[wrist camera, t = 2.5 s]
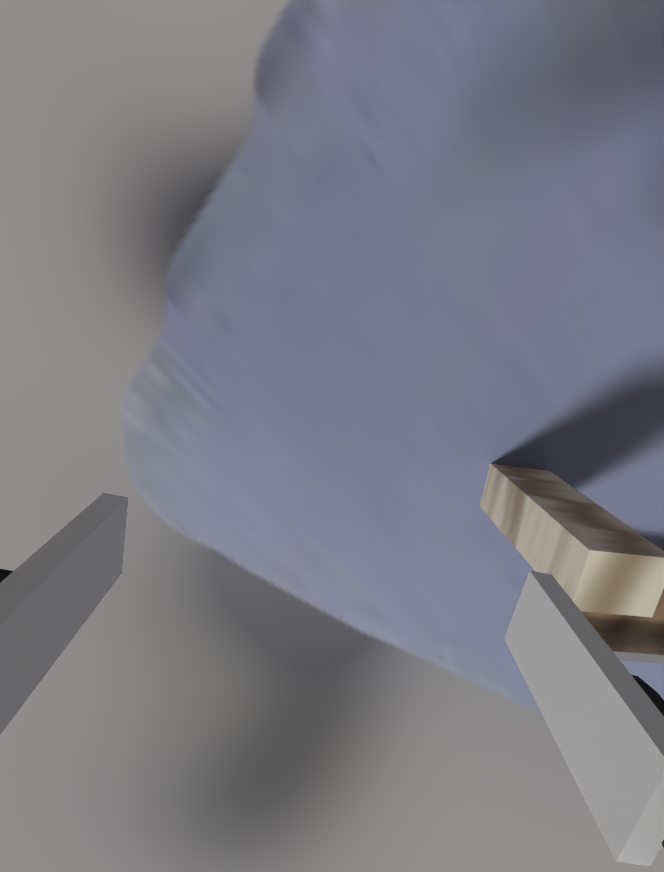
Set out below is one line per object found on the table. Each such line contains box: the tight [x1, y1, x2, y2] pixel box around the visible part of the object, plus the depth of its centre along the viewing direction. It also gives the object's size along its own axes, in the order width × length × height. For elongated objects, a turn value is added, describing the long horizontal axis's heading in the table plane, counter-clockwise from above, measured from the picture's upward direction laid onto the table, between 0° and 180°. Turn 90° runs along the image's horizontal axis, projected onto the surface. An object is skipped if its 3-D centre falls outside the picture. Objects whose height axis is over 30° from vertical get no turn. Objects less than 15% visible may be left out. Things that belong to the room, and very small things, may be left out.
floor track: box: [581, 589, 664, 663], centre depth 49 cm, size 18×10×4 cm, turn 82°
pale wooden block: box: [480, 464, 664, 617], centre depth 38 cm, size 6×4×16 cm
